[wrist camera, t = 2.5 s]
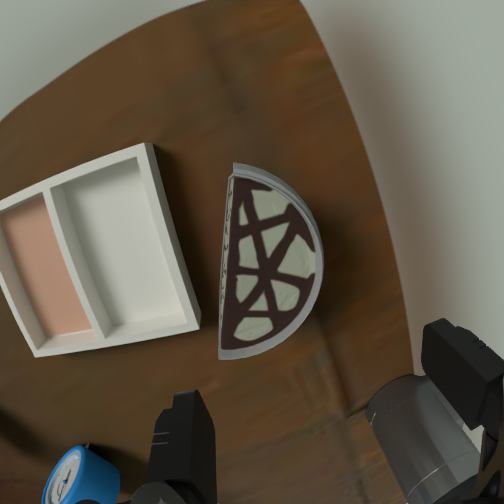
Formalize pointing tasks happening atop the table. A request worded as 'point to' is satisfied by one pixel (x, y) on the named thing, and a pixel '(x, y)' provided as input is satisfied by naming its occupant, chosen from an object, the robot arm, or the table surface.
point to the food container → (265, 263)
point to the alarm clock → (82, 479)
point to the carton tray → (95, 257)
